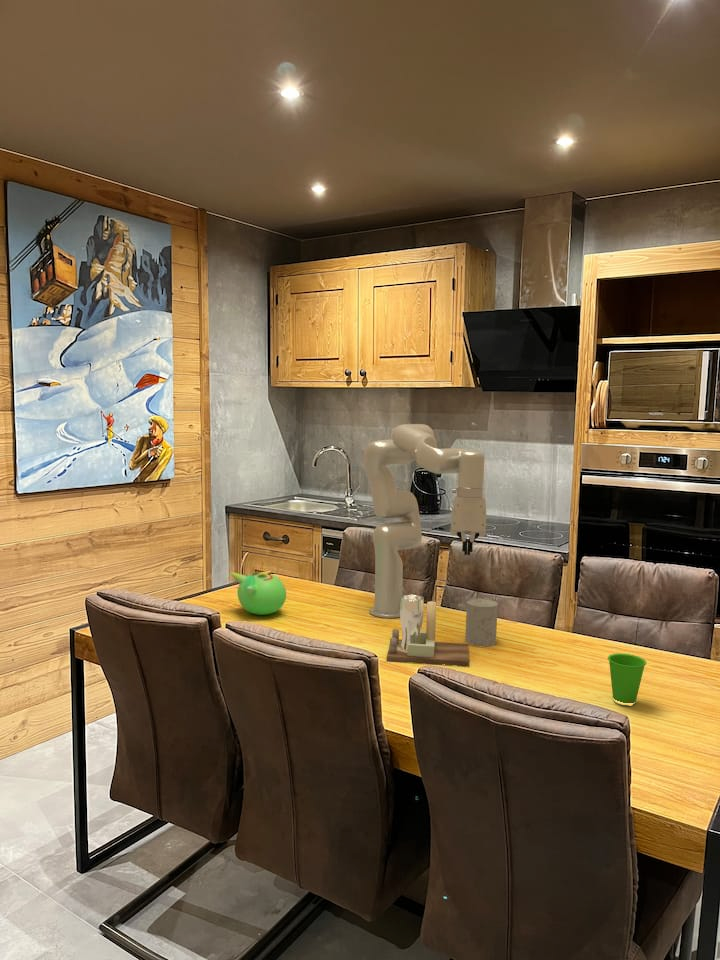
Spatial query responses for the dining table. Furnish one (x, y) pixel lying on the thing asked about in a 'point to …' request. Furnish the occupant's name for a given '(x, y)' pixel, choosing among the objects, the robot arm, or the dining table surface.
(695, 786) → the dining table surface
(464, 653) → the board
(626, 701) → the cup
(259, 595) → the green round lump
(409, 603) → the beer glass
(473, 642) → the grey stone cylinder
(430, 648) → the grey angular piece
